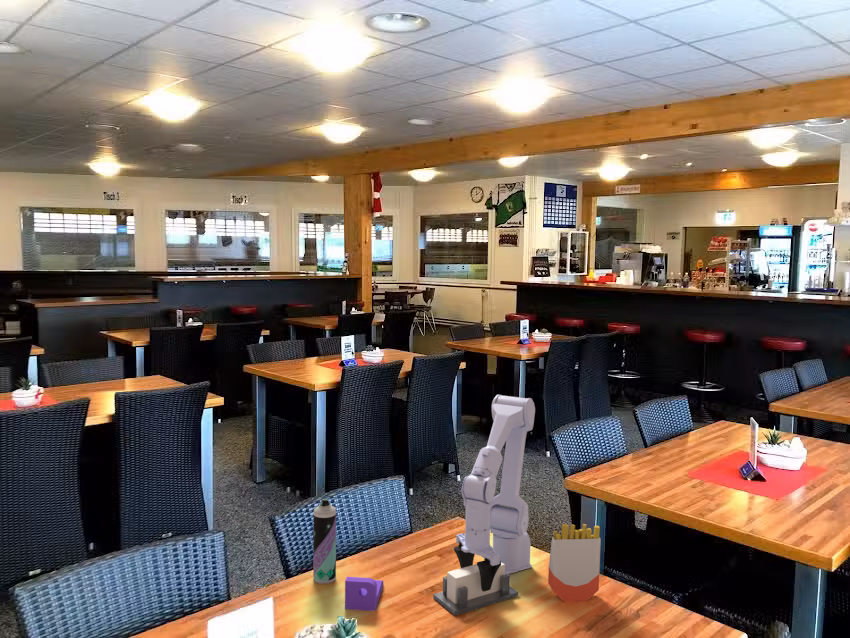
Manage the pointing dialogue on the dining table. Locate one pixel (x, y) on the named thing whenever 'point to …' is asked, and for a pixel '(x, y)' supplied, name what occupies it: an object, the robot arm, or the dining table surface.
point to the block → (470, 582)
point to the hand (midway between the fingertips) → (476, 583)
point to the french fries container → (575, 563)
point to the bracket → (362, 593)
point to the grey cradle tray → (478, 602)
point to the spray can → (324, 543)
